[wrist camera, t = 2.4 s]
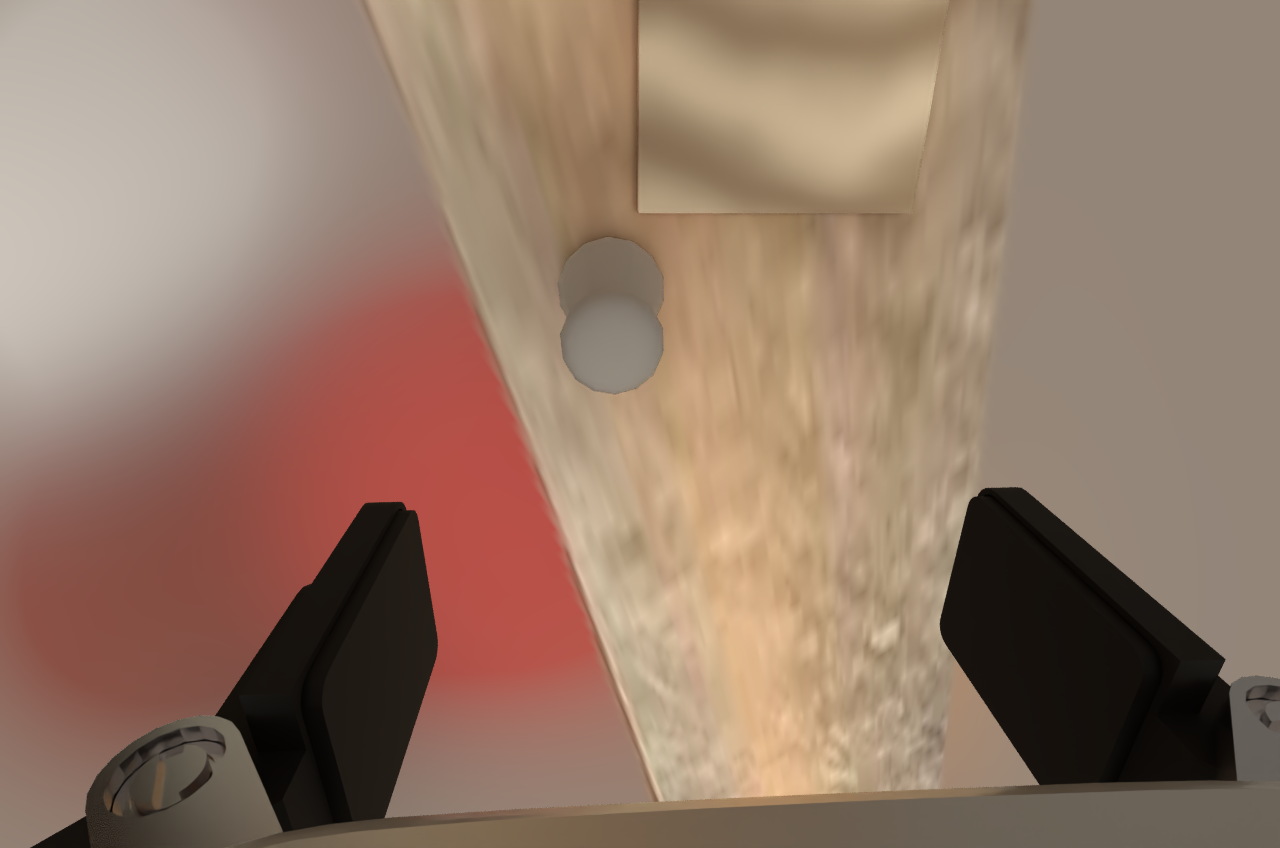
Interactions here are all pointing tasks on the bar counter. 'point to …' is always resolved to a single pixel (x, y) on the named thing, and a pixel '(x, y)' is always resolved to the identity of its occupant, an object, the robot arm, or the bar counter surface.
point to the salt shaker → (611, 315)
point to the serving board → (784, 104)
